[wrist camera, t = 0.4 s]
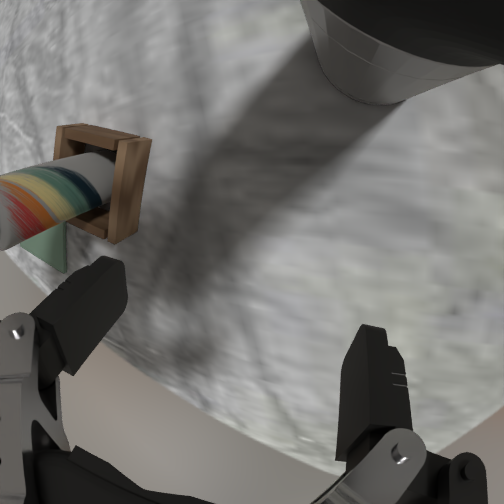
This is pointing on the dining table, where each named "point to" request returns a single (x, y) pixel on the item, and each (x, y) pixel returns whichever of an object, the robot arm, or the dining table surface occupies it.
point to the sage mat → (49, 246)
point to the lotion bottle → (52, 194)
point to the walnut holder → (124, 182)
